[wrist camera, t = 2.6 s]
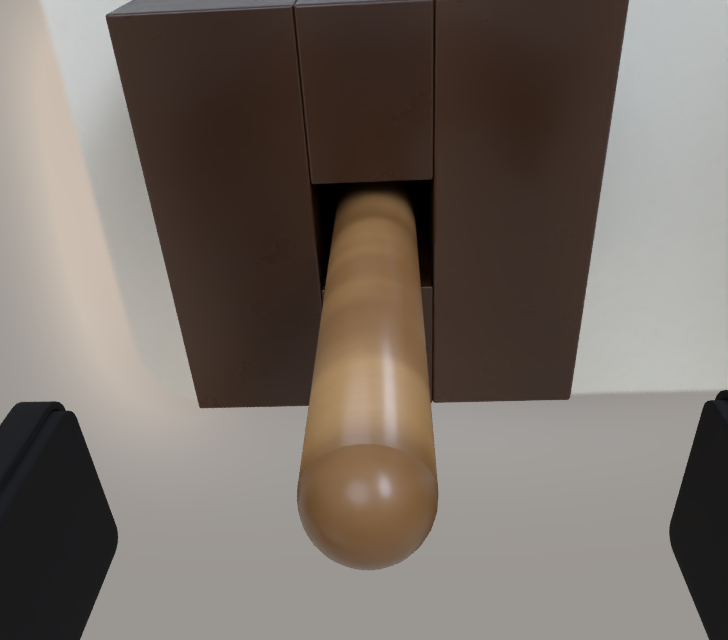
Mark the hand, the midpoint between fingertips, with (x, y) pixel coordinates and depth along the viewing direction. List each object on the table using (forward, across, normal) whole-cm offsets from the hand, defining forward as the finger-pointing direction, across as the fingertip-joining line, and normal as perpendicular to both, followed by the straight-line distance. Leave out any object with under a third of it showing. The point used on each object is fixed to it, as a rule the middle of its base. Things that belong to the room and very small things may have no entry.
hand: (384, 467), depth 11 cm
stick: (+14, 0, 0) cm, 14 cm away
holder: (+14, 0, 0) cm, 14 cm away
